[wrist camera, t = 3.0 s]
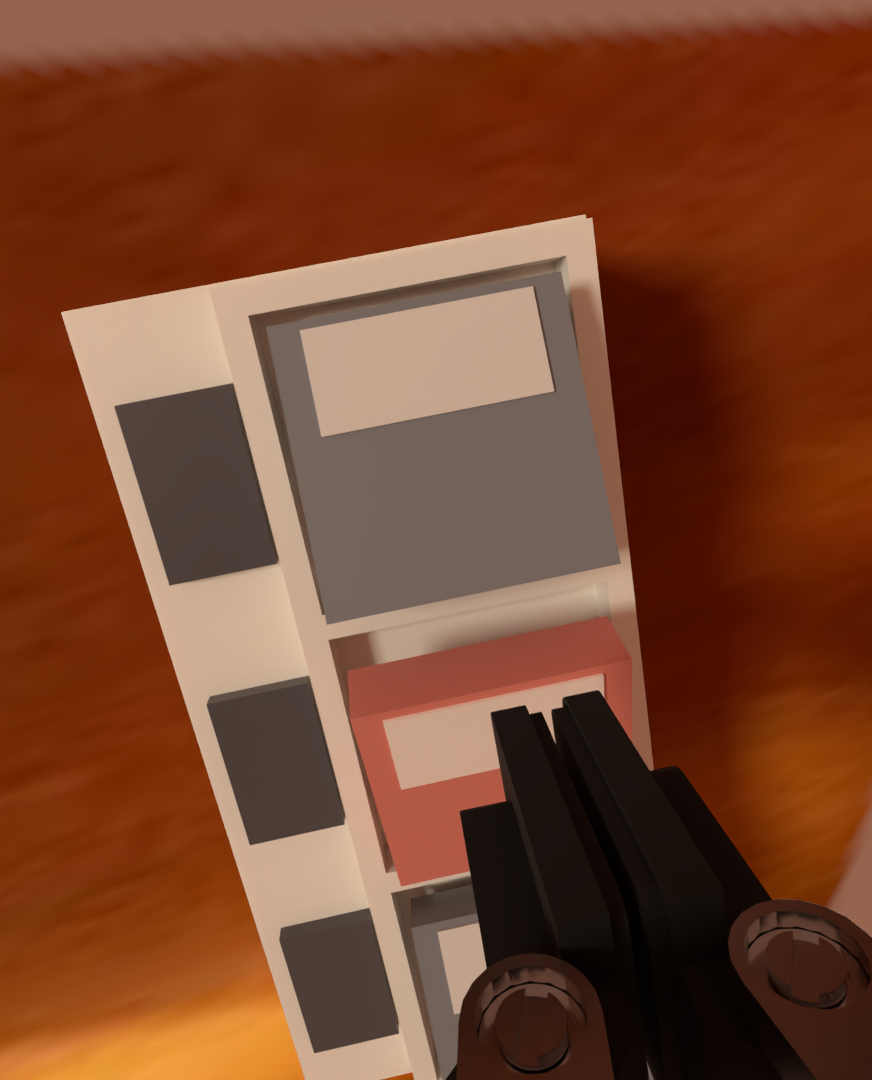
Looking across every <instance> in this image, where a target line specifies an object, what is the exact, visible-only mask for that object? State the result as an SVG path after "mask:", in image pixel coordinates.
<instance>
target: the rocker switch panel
mask: <svg viewBox="0 0 872 1080" xmlns="http://www.w3.org/2000/svg"><path fill="white" fill-rule="evenodd" d="M559 271H561V273H562V278H563V283H564V288H565V292H566V297H567V302H568V307H569V312H570V317H571V322H572V327H573V332H574V336H575V341H576V346H577V351H578V356H579V361H580V366H581V371H582V376H583V380H584V385H585V390H586V395H587V400H588V405H589V410H590V415H591V420H592V424H593V429H594V434H595V439H596V444H597V449H598V454H599V459H600V464H601V468H602V473H603V478H604V483H605V488H606V493H607V498H608V503H609V508H610V513H611V517H612V522H613V527H614V532H615V537H616V542H617V547H618V552H619V557H620V561H621V564H616V565H611V566H607V567H602V568H597V569H592V570H587V571H583V572H578V573H573V574H568V575H563V576H559V577H554V578H549V579H544V580H539V581H535V582H530V583H525V584H520V585H515V586H511V587H506V588H501V589H496V590H491V591H487V592H482V593H477V594H472V595H467V596H463V597H458V598H453V599H448V600H443V601H439V602H434V603H429V604H424V605H419V606H415V607H410V608H405V609H400V610H395V611H391V612H386V613H381V614H376V615H371V616H367V617H362V618H357V619H352V620H347V621H343V622H338V623H333V624H328V625H327V623H326V618H325V613H324V609H323V604H322V599H321V594H320V589H319V584H318V579H317V574H316V569H315V565H314V560H313V555H312V550H311V545H310V540H309V535H308V530H307V525H306V521H305V516H304V511H303V506H302V501H301V496H300V491H299V486H298V482H297V477H296V472H295V467H294V462H293V457H292V452H291V447H290V442H289V438H288V433H287V428H286V423H285V418H284V413H283V408H282V403H281V398H280V394H279V389H278V384H277V379H276V374H275V369H274V364H273V359H272V354H271V350H270V345H269V340H268V335H267V330H266V327H269V326H274V325H279V324H285V323H290V322H295V321H300V320H306V319H311V318H316V317H322V316H327V315H332V314H337V313H343V312H348V311H353V310H358V309H364V308H369V307H374V306H380V305H385V304H390V303H395V302H401V301H406V300H411V299H416V298H422V297H427V296H432V295H438V294H443V293H448V292H453V291H459V290H464V289H469V288H474V287H480V286H485V285H490V284H496V283H501V282H506V281H511V280H517V279H522V278H527V277H532V276H538V275H543V274H548V273H554V272H559ZM61 313H62V317H63V320H64V323H65V326H66V329H67V332H68V335H69V339H70V342H71V345H72V348H73V351H74V354H75V357H76V361H77V364H78V367H79V370H80V373H81V376H82V379H83V383H84V386H85V389H86V392H87V395H88V398H89V401H90V405H91V408H92V411H93V414H94V417H95V420H96V423H97V427H98V430H99V433H100V436H101V439H102V442H103V445H104V449H105V452H106V455H107V458H108V461H109V464H110V467H111V471H112V474H113V477H114V480H115V483H116V486H117V489H118V493H119V496H120V499H121V502H122V505H123V508H124V511H125V515H126V518H127V521H128V524H129V527H130V530H131V533H132V537H133V540H134V543H135V546H136V549H137V552H138V555H139V559H140V562H141V565H142V568H143V571H144V574H145V577H146V581H147V584H148V587H149V590H150V593H151V596H152V599H153V603H154V606H155V609H156V612H157V615H158V618H159V621H160V624H161V628H162V631H163V634H164V637H165V640H166V643H167V646H168V650H169V653H170V656H171V659H172V662H173V665H174V668H175V672H176V675H177V678H178V681H179V684H180V687H181V690H182V694H183V697H184V700H185V703H186V706H187V709H188V712H189V716H190V719H191V722H192V725H193V728H194V731H195V734H196V738H197V741H198V744H199V747H200V750H201V753H202V756H203V760H204V763H205V766H206V769H207V772H208V775H209V778H210V782H211V785H212V788H213V791H214V794H215V797H216V800H217V804H218V807H219V810H220V813H221V816H222V819H223V822H224V826H225V829H226V832H227V835H228V838H229V841H230V844H231V848H232V851H233V854H234V857H235V860H236V863H237V866H238V870H239V873H240V876H241V879H242V882H243V885H244V888H245V892H246V895H247V898H248V901H249V904H250V907H251V910H252V914H253V917H254V920H255V923H256V926H257V929H258V932H259V936H260V939H261V942H262V945H263V948H264V951H265V954H266V958H267V961H268V964H269V967H270V970H271V973H272V976H273V979H274V983H275V986H276V989H277V992H278V995H279V998H280V1001H281V1005H282V1008H283V1011H284V1014H285V1017H286V1020H287V1023H288V1027H289V1030H290V1033H291V1036H292V1039H293V1042H294V1045H295V1049H296V1052H297V1055H298V1058H299V1061H300V1064H301V1067H302V1071H303V1074H304V1077H305V1080H381V1079H385V1078H389V1077H394V1076H398V1075H402V1074H406V1073H410V1072H413V1076H414V1080H442V1077H441V1072H440V1067H439V1062H438V1057H437V1052H436V1047H435V1042H434V1037H433V1033H432V1028H431V1023H430V1018H429V1013H428V1008H427V1003H426V998H425V993H424V989H423V984H422V979H421V974H420V969H419V964H418V959H417V954H416V949H415V945H414V940H413V935H412V930H411V899H412V898H416V897H420V896H425V895H429V894H434V893H438V892H443V891H447V890H451V889H456V888H460V887H465V886H469V885H472V881H471V875H470V871H468V872H464V873H459V874H455V875H450V876H446V877H442V878H437V879H433V880H428V881H424V882H419V883H415V884H410V885H406V886H402V887H401V885H400V881H399V878H398V875H397V872H396V868H395V865H394V862H393V858H392V855H391V852H390V849H389V845H388V842H387V839H386V835H385V832H384V829H383V826H382V822H381V819H380V816H379V812H378V809H377V806H376V803H375V799H374V796H373V793H372V790H371V786H370V783H369V780H368V776H367V773H366V770H365V767H364V763H363V760H362V757H361V753H360V750H359V747H358V744H357V740H356V737H355V734H354V731H353V727H352V724H351V721H350V706H349V686H348V671H349V670H354V669H359V668H364V667H368V666H373V665H378V664H382V663H387V662H392V661H397V660H401V659H406V658H411V657H416V656H420V655H425V654H430V653H434V652H439V651H444V650H449V649H453V648H458V647H463V646H468V645H472V644H477V643H482V642H486V641H491V640H496V639H501V638H505V637H510V636H515V635H520V634H524V633H529V632H534V631H539V630H543V629H548V628H553V627H557V626H562V625H567V624H572V623H576V622H581V621H586V620H591V619H595V618H600V617H605V616H607V617H608V618H609V620H610V622H611V624H612V625H613V627H614V629H615V631H616V632H617V634H618V636H619V637H620V639H621V641H622V643H623V644H624V646H625V648H626V650H627V651H628V653H629V655H630V657H631V658H632V743H633V745H634V746H635V748H636V749H637V751H638V753H639V754H640V756H641V757H642V759H643V761H644V762H645V764H646V765H647V767H648V769H649V770H650V771H652V770H654V766H653V757H652V748H651V739H650V730H649V721H648V713H647V704H646V695H645V686H644V677H643V668H642V659H641V650H640V641H639V632H638V623H637V614H636V605H635V596H634V587H633V579H632V570H631V561H630V552H629V543H628V534H627V525H626V516H625V507H624V498H623V489H622V480H621V471H620V462H619V453H618V445H617V436H616V427H615V418H614V409H613V400H612V391H611V382H610V373H609V364H608V355H607V346H606V337H605V328H604V319H603V311H602V302H601V293H600V284H599V275H598V266H597V257H596V248H595V239H594V230H593V221H592V218H588V219H586V214H585V215H580V216H574V217H569V218H564V219H558V220H553V221H548V222H542V223H537V224H532V225H526V226H521V227H515V228H510V229H505V230H499V231H494V232H489V233H483V234H478V235H473V236H467V237H462V238H456V239H451V240H446V241H440V242H435V243H430V244H424V245H419V246H414V247H408V248H403V249H397V250H392V251H387V252H381V253H376V254H371V255H365V256H360V257H355V258H349V259H344V260H338V261H333V262H328V263H322V264H317V265H312V266H306V267H301V268H296V269H290V270H285V271H279V272H274V273H269V274H263V275H258V276H253V277H247V278H242V279H237V280H231V281H226V282H220V283H215V284H210V285H204V286H199V287H194V288H188V289H183V290H178V291H172V292H167V293H161V294H156V295H151V296H145V297H140V298H135V299H129V300H124V301H119V302H113V303H108V304H102V305H97V306H92V307H86V308H81V309H76V310H70V311H65V312H61Z"/></svg>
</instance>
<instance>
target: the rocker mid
mask: <svg viewBox="0 0 872 1080" xmlns="http://www.w3.org/2000/svg"><path fill="white" fill-rule="evenodd" d="M348 686H349V706H350V721H351V724H352V727H353V731H354V734H355V737H356V740H357V744H358V747H359V750H360V753H361V757H362V760H363V763H364V767H365V770H366V773H367V776H368V780H369V783H370V786H371V790H372V793H373V796H374V799H375V803H376V806H377V809H378V812H379V816H380V819H381V822H382V826H383V829H384V832H385V835H386V839H387V842H388V845H389V849H390V852H391V855H392V858H393V862H394V865H395V868H396V872H397V875H398V878H399V881H400V885H401V887H402V886H406V885H410V884H415V883H419V882H424V881H428V880H433V879H437V878H442V877H446V876H450V875H455V874H459V873H464V872H468V871H470V869H469V863H468V858H467V852H466V846H465V840H464V835H463V829H462V823H461V817H460V811H461V810H466V809H471V808H475V807H480V806H485V805H490V804H494V803H499V802H504V801H506V798H505V793H504V787H503V782H502V776H501V771H500V765H499V760H498V754H497V749H496V743H495V738H494V732H493V727H492V721H491V712H494V711H499V710H503V709H508V708H513V707H518V706H523V705H526V707H527V709H528V712H529V714H532V713H537V712H542V714H543V716H544V718H545V721H546V723H547V725H548V727H549V730H550V732H551V734H552V737H553V739H554V741H555V736H554V729H553V722H552V715H551V711H552V709H556V708H561V707H563V706H562V699H563V697H566V696H571V695H576V694H581V693H586V692H591V691H596V690H599V691H600V692H601V693H602V695H603V697H604V698H605V700H606V701H607V703H608V705H609V706H610V708H611V709H612V711H613V713H614V714H615V716H616V717H617V719H618V721H619V722H620V724H621V725H622V727H623V729H624V730H625V732H626V733H627V735H628V737H629V738H630V740H631V741H632V658H631V657H630V655H629V653H628V651H627V650H626V648H625V646H624V644H623V643H622V641H621V639H620V637H619V636H618V634H617V632H616V631H615V629H614V627H613V625H612V624H611V622H610V620H609V618H608V617H607V616H605V617H600V618H595V619H591V620H586V621H581V622H576V623H572V624H567V625H562V626H557V627H553V628H548V629H543V630H539V631H534V632H529V633H524V634H520V635H515V636H510V637H505V638H501V639H496V640H491V641H486V642H482V643H477V644H472V645H468V646H463V647H458V648H453V649H449V650H444V651H439V652H434V653H430V654H425V655H420V656H416V657H411V658H406V659H401V660H397V661H392V662H387V663H382V664H378V665H373V666H368V667H364V668H359V669H354V670H349V671H348ZM555 743H556V742H555Z"/></svg>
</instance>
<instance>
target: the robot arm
mask: <svg viewBox="0 0 872 1080" xmlns="http://www.w3.org/2000/svg"><path fill="white" fill-rule="evenodd" d="M562 706H563V707H561V708H556V709H552V711H551V715H552V722H553V729H554V736H555V741H554V739H553V737H552V734H551V732H550V730H549V727H548V725H547V723H546V721H545V718H544V716H543V714H542V712H537V713H532V714H529V712H528V709H527V707H526V705H523V706H518V707H513V708H508V709H503V710H499V711H494V712H491V721H492V727H493V732H494V738H495V743H496V749H497V754H498V760H499V765H500V771H501V776H502V782H503V787H504V793H505V798H506V801H504V802H499V803H494V804H490V805H485V806H480V807H475V808H471V809H466V810H461V811H460V817H461V823H462V829H463V835H464V840H465V846H466V852H467V858H468V863H469V869H470V875H471V881H472V887H473V892H474V898H475V904H476V910H477V915H478V921H479V927H480V933H481V938H482V944H483V950H484V956H485V962H486V967H487V969H486V970H485V971H484V972H482V973H481V974H480V975H479V976H478V977H477V978H476V979H475V980H474V981H473V983H472V984H471V986H470V988H469V990H468V992H467V993H466V995H465V997H464V999H463V1001H462V1006H461V1012H460V1017H459V1024H458V1051H457V1064H456V1066H455V1067H454V1068H453V1070H452V1071H451V1073H450V1074H449V1075H448V1077H447V1078H446V1080H649V1074H648V1066H649V1068H650V1071H651V1074H652V1076H653V1079H654V1080H872V938H871V937H870V936H869V935H868V934H867V933H866V932H865V931H863V930H862V929H861V928H860V927H858V926H857V925H856V924H855V923H853V922H852V921H851V920H849V919H848V918H847V917H845V916H843V915H841V914H839V913H837V912H835V911H833V910H831V909H828V908H826V907H824V906H821V905H817V904H813V903H809V902H806V901H802V900H786V899H776V900H772V899H771V898H770V896H769V895H768V893H767V892H766V890H765V889H764V888H763V886H762V885H761V883H760V882H759V880H758V879H757V878H756V876H755V875H754V873H753V872H752V870H751V869H750V868H749V866H748V865H747V863H746V862H745V860H744V859H743V857H742V856H741V855H740V853H739V852H738V850H737V849H736V847H735V846H734V845H733V843H732V842H731V840H730V839H729V837H728V836H727V835H726V833H725V832H724V830H723V829H722V827H721V826H720V825H719V823H718V822H717V820H716V819H715V817H714V816H713V815H712V813H711V812H710V810H709V809H708V807H707V806H706V805H705V803H704V802H703V800H702V799H701V797H700V796H699V794H698V793H697V792H696V790H695V789H694V787H693V786H692V784H691V783H690V782H689V780H688V779H687V777H686V776H685V774H684V773H683V772H682V771H681V770H680V769H679V768H678V767H676V766H671V767H666V768H661V769H657V770H652V771H650V770H649V769H648V767H647V765H646V764H645V762H644V761H643V759H642V757H641V756H640V754H639V753H638V751H637V749H636V748H635V746H634V745H633V743H632V741H631V740H630V738H629V737H628V735H627V733H626V732H625V730H624V729H623V727H622V725H621V724H620V722H619V721H618V719H617V717H616V716H615V714H614V713H613V711H612V709H611V708H610V706H609V705H608V703H607V701H606V700H605V698H604V697H603V695H602V693H601V692H600V691H599V690H596V691H591V692H586V693H581V694H576V695H571V696H566V697H563V699H562ZM555 742H556V743H555ZM647 1063H648V1066H647Z"/></svg>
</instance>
